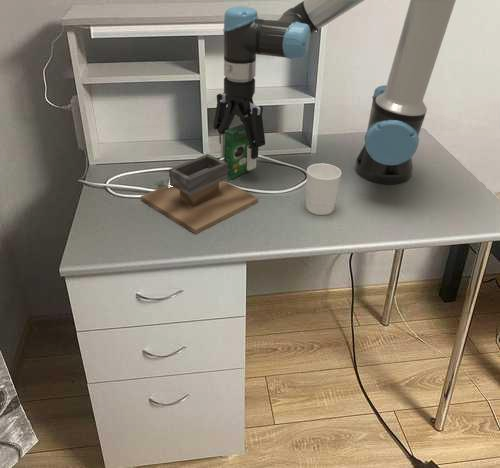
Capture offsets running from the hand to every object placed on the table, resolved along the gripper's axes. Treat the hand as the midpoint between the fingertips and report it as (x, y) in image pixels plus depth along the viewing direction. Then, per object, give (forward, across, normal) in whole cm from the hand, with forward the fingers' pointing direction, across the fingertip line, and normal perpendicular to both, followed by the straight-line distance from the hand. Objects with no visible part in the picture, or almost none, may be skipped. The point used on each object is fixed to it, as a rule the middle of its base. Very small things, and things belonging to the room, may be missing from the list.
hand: (238, 162), depth 138 cm
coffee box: (+3, 0, 0) cm, 3 cm away
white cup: (+3, +26, +2) cm, 26 cm away
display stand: (+3, +4, -17) cm, 18 cm away
